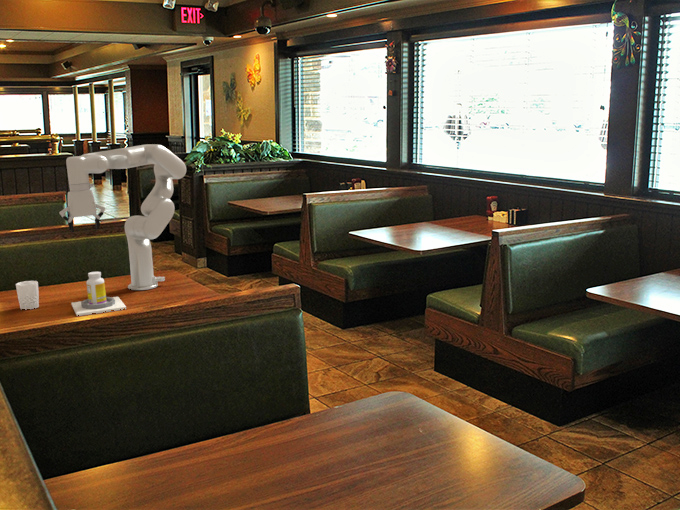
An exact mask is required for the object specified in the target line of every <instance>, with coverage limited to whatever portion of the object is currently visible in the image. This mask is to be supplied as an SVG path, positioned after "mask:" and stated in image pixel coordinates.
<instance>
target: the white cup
mask: <svg viewBox="0 0 680 510" xmlns="http://www.w3.org/2000/svg"><path fill="white" fill-rule="evenodd" d="M15 288H16V293H17V300H18V303H19V309H20V310H22V309H25V310H24V311H28V310H27V309H30V310H35V309H37V308H39V307H40V304H39V303H40V302H39V301H40V299H39V296H40V293H39V282H38V281H37V280H25V281H20V282H17V283H15ZM34 308H35V309H34Z"/></svg>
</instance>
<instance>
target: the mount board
mask: <svg viewBox="0 0 680 510" xmlns="http://www.w3.org/2000/svg"><path fill="white" fill-rule="evenodd" d="M106 301H107V303H104V304H97V305H89V302H88V298H87V299H84V300H83V301H75V302H71V307H72V309H73V310H74V313H75V315H76V317H80V316H87V315H89V316H90V315H93V314H92V313H96V314H103V312H104V313H109V312H112V311H111V310H114V311H113V312H117V311H122V310H123V309H124V308H125V310H127V305H125V303H124V302H123V301H122V299H120V297H119V296H113V297H112V296H111V297H110V296H106ZM120 309H121V310H120ZM105 311H106V312H105ZM123 311H124V310H123ZM96 314H95V315H96ZM78 315H79V316H78Z"/></svg>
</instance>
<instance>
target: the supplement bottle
mask: <svg viewBox="0 0 680 510" xmlns="http://www.w3.org/2000/svg"><path fill="white" fill-rule="evenodd" d="M101 276H102V272H101V271H91V272H88V273H87V277H88V279H87V280H86V292H87V299H88V302H89V305H97V304H104V303H107V301H106V297H107V294H106V293H107V292H106V285H105V279H104V278H103V277H101Z"/></svg>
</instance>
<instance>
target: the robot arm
mask: <svg viewBox="0 0 680 510" xmlns="http://www.w3.org/2000/svg"><path fill="white" fill-rule="evenodd" d="M65 162H66V163H65V164H66V169H67V170H66V171H67V178H68V180H67V181H68V187H69V188H68V189H69V191H68V192H67V207H65V208H64V209H62V210H61V211H58V213H59V215H60V216H61V217H62V219H63V220H65V221H66V222H67V224H68V230H69V231H70V232H71V233H74V232H75V230H74V223H73V220H74V218H80V217H91V216H93V217H94V218H95V219H94V225H95V229H96V230H100V227H101V221H100V219H101V218H102V217H103V215H104V213H105V211H106V207H104V206H102V205H100V204H96V201H95V196H94V192H93V190H92V188H94V183H90V179H89V178H90V177H89V174H103V173H105V172H106V171H107V170H114V169H115V170H121V169H122V170H124V169H130V168H136V167H140V166H141V167H142V166H147V165H153V173H154V176H155V177H154V178H155V182H154V183H155V184H154V186H153V187H152V189H151V191H150V193H148V195H147V196H146V198H145V199H144V200H143V202H142V204H141V206H140V211H141V214H142V215H131V216H130V217H128V218H127V219H126V221H125V222H124V233H125V236H126V240H127V244H128V245H127V246H128V257H129V269H130V280H131V281H130V283H129V284H128V285H127V288H128V289H129V290H130V289H131V291H145V290H152V289H155V288H157V287H158V286H159V283H158V282H165V280H166V277H165V276H155V275H154V263H153V251H152V250H153V249H152V244H151V240H154V239H157V238H158V237H159V236H160V235H161V234H162V232H163V231H164V230H165V229H166V227H167V225H168V224H169V223H170V221H171V219H172V218H173V216H174V215H175V209H176V208H175V203H174V202H173V201H172V200H171V198H172V196H173V194H174V190H175V189H174V181H173V180H181V179H182V178H184V177H185V176H186V173H187V165H186V164H185V162H184V161H183V160H182V159H181V158H179V157H178V155H176V154H174V153H173V152H172V151H171V150H170V149H168V148H166V147H165V146H164V145H162V144H158V143H157V144H155V143H154V144H153V143H152V144H148V143H147V144H141V145H140V144H139V145H134V146H130V147H129V146H128V147H123V148H115V149H109V150H103V151H95V152H89V153H83V154H82V155H79V156H78V155H77V156H76V155H75V156H68V157H67V158H66V161H65ZM97 209H98V210H100V211H99V213H98V214H97ZM67 212H68V215H69V216H68V217H67V216H66V214H65V213H67Z"/></svg>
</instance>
